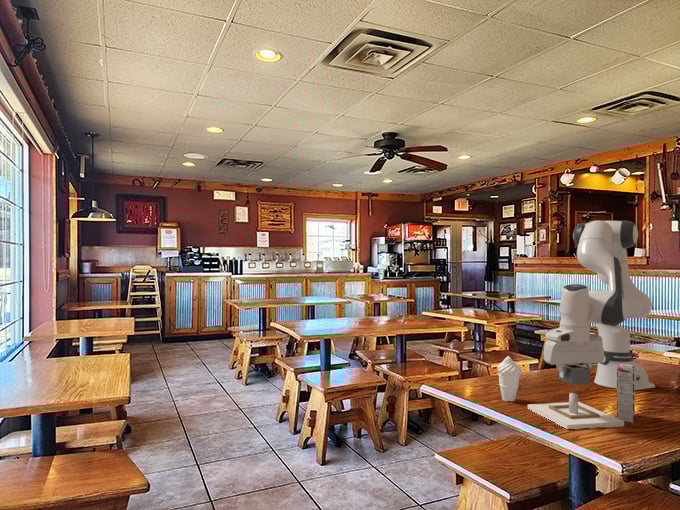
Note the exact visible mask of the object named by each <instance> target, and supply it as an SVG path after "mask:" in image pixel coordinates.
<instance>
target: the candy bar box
mask: <svg viewBox="0 0 680 510" xmlns="http://www.w3.org/2000/svg"><path fill="white" fill-rule="evenodd" d="M635 391H636V390H635V371H634V365H627V364H618V368H617V388H616V418H617V419H620V420H622V421H624V423H630V424H635V408H636V405H635V402H636V401H635V397H636V396H635V393H636V392H635Z"/></svg>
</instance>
